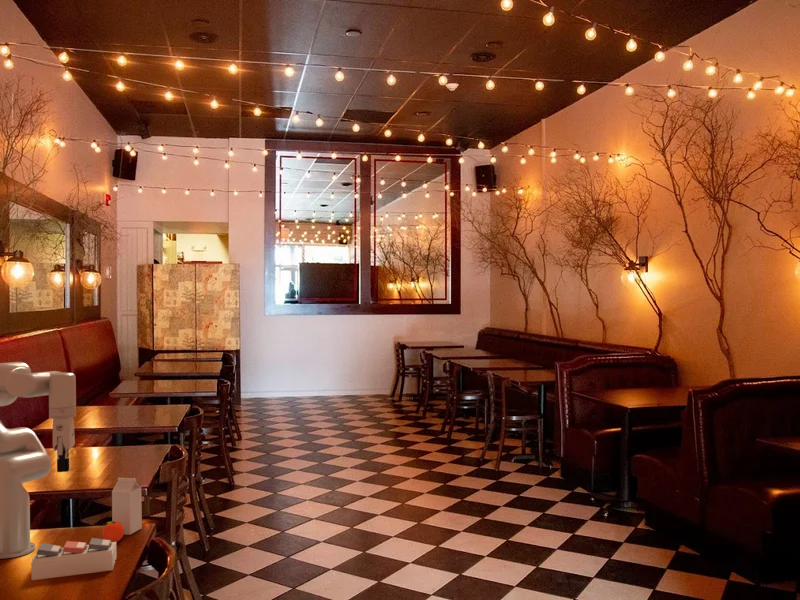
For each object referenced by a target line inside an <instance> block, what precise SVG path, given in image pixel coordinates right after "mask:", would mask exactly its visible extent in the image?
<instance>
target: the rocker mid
mask: <svg viewBox="0 0 800 600" xmlns="http://www.w3.org/2000/svg"><path fill="white" fill-rule="evenodd" d="M86 545H87V542H86V541H85V542H82V541H71V540H66V542H65V544H64V545H63V547H62V548H63V552H71V553H83V552H84V549H85V547H86Z"/></svg>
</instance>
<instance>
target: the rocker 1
mask: <svg viewBox="0 0 800 600" xmlns="http://www.w3.org/2000/svg"><path fill="white" fill-rule="evenodd" d="M61 548H62V545H56V544H50V543H43V542H42V543H41V544H40V546H39V547H38V549H37V550H36V553H37V554H39V555H46V556H58V554H59V552H60V550H61Z"/></svg>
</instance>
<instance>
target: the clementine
mask: <svg viewBox="0 0 800 600" xmlns="http://www.w3.org/2000/svg"><path fill="white" fill-rule="evenodd" d="M101 528H102V532H101V536H102V539H106V540H111V542H116V543H117V542H119V541H121V539H122V538H123V537H124V535H125V534H124V527H123V525H122V524H121V523H119V522H117V521H113V522H112V520H111V521H107V522H106V523H104V525H102V526H101Z"/></svg>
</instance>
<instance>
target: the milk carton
mask: <svg viewBox="0 0 800 600" xmlns="http://www.w3.org/2000/svg"><path fill="white" fill-rule="evenodd" d="M142 501H143V499H142V486H141V485H140V484H139V483H138V482H137V479H136V478H135V477H134V478H132V477H131V478H129V477H128V478H127V477H117V481H116V483H115V485H114V487H113V488H112V491H111V511H112V512H111V515H112V516H111V518H112V519H111V521H112V522H113V521H117V522H119V523H121V524H122V525H123V527H124V534H123V535H127V536H129V535H130V536H131V535H132V534H134V533H136V532H137V531H139V530H141V529H142V528H143V522H142V521H143V520H142V519H143V517H142V516H143V515H142V514H143V513H142V512H143V511H142V510H143V509H142Z"/></svg>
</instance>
